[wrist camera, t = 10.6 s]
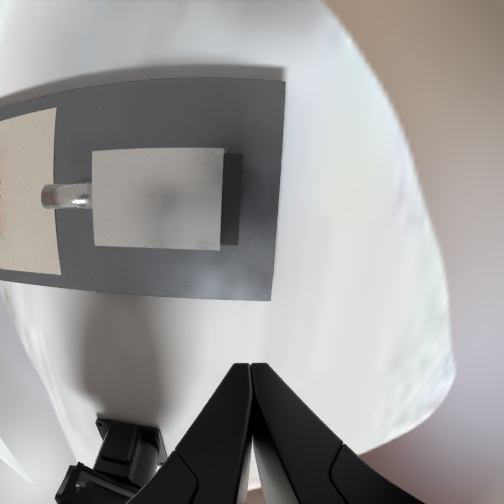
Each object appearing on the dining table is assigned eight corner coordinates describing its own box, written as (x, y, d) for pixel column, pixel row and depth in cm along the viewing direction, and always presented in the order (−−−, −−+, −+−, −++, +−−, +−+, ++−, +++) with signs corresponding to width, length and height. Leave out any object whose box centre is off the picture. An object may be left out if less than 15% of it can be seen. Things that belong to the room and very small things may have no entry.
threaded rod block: (237, 232, 17) (238, 251, 13) (65, 227, 16) (33, 243, 13) (241, 152, 15) (243, 149, 12) (63, 156, 15) (28, 158, 11)
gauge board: (268, 293, 20) (284, 359, 13) (-46, 267, 18) (-92, 295, 11) (282, 86, 16) (310, 44, 9) (-54, 133, 14) (-107, 137, 7)
